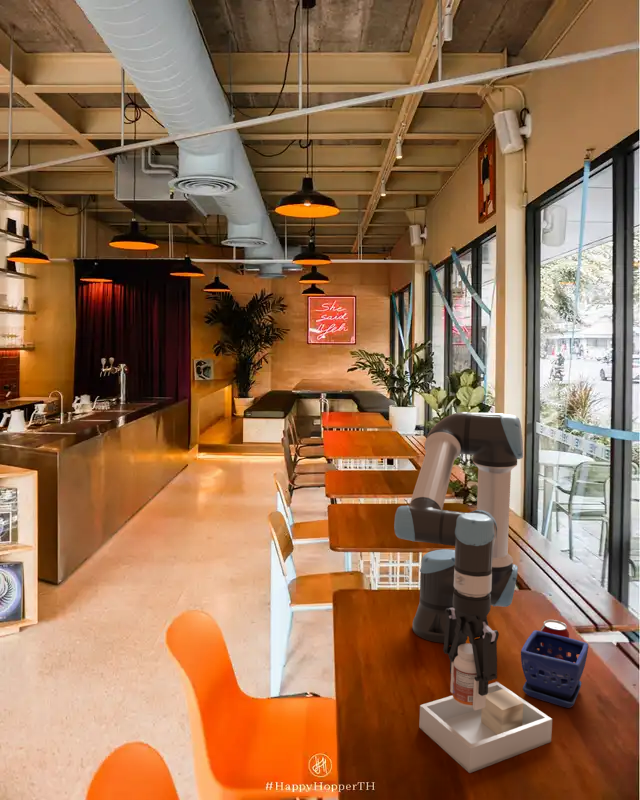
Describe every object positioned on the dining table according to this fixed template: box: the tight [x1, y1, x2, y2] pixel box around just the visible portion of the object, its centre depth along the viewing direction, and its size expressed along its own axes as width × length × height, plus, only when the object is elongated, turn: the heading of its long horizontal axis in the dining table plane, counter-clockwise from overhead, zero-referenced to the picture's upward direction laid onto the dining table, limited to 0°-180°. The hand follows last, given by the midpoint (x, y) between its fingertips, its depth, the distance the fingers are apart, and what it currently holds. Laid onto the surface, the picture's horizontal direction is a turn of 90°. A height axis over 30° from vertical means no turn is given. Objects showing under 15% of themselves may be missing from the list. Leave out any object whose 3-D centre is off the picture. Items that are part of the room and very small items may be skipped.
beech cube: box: [481, 689, 523, 735], centre depth 132 cm, size 6×6×6 cm
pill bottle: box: [452, 642, 477, 707], centre depth 127 cm, size 6×6×11 cm
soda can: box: [540, 619, 570, 660], centre depth 157 cm, size 7×7×12 cm
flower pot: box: [520, 629, 589, 709], centre depth 146 cm, size 13×13×12 cm
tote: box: [418, 681, 553, 774], centre depth 130 cm, size 16×22×5 cm
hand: (467, 699), depth 127 cm, fingers closed on pill bottle, 6 cm apart
